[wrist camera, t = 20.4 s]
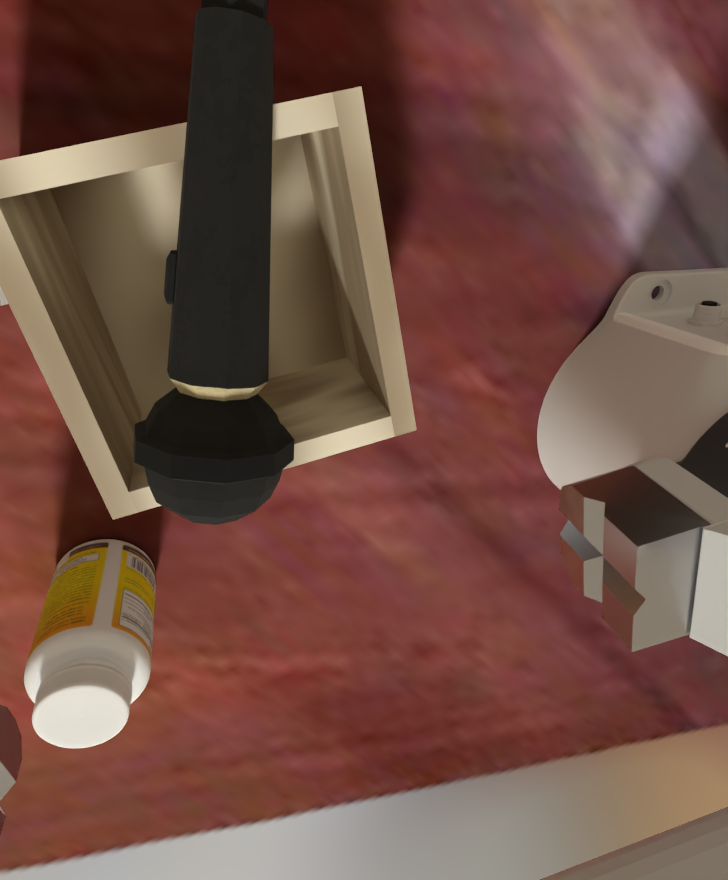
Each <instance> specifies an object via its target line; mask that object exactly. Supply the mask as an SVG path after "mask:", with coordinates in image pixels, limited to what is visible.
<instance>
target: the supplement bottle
mask: <svg viewBox="0 0 728 880" xmlns="http://www.w3.org/2000/svg"><path fill="white" fill-rule="evenodd" d="M155 590H156V573H155V569H154V566H153V563H152V562H151V560H150V558H149V557H148V556H147V555H146V554H145V553H144V552H143V551H142V550H141V549H139V548H138V547H136V546H134V545H132V544H130V543H127V542H124V541H120V540H114V539H99V540H93V541H89V542H86V543H83V544H81V545H79V546H77V547H75V548H73V549H72V550H70V551H69V552H68V553H67V554H66V555H65V556H64V557H63V558H62V559H61V560H60V562H59V563H58V565H57V567H56V569H55V571H54V574H53V577H52V581H51V584H50V587H49V591H48V594H47V597H46V600H45V604H44V607H43V611H42V614H41V617H40V621H39V624H38V627H37V630H36V634H35V637H34V641H33V644H32V647H31V650H30V654H29V657H28V660H27V664H26V668H25V673H24V684H25V688H26V691H27V693H28V695H29V697H30V698H31V700H32V701H33V702H34V703H35V706H34V710H33V715H32V723H33V727H34V729H35V731H36V733H37V734H38V735H39V736H40V737H41V738H42V739H44V740H45V741H47V742H49V743H51V744H53V745H56V746H59V747H65V748H86V747H91V746H95V745H98V744H101V743H103V742H105V741H107V740H109V739H111V738H112V737H114V736H115V735H116V734H118V733H119V732H120V731H121V729H122V728H123V727H124V725H125V724H126V722H127V719H128V716H129V710H130V704H131V703H132V702H133V701H135V700H136V699H137V698H138V697H139V695H140V694H141V693H142V692H143V690H144V688H145V687H146V685H147V683H148V680H149V676H150V671H151V658H152V641H153V624H154V607H155Z"/></svg>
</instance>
